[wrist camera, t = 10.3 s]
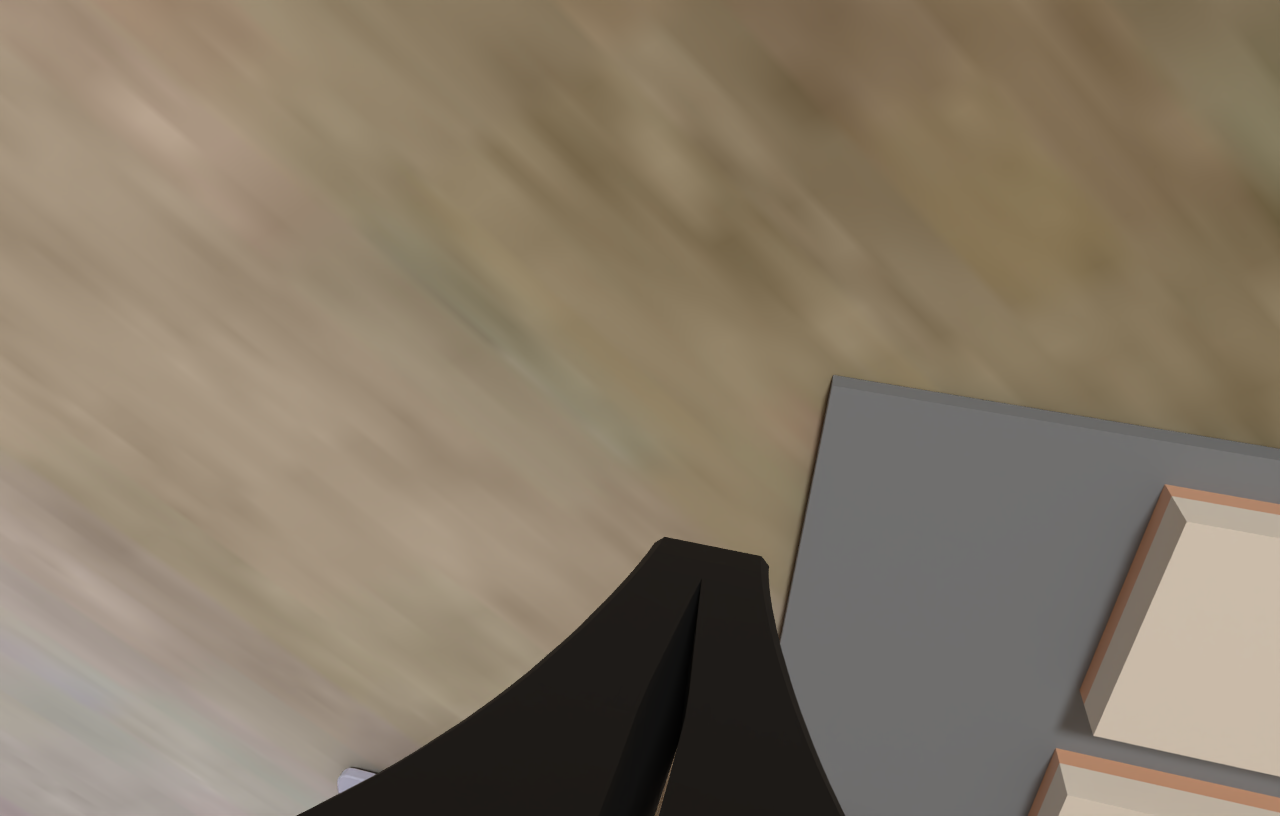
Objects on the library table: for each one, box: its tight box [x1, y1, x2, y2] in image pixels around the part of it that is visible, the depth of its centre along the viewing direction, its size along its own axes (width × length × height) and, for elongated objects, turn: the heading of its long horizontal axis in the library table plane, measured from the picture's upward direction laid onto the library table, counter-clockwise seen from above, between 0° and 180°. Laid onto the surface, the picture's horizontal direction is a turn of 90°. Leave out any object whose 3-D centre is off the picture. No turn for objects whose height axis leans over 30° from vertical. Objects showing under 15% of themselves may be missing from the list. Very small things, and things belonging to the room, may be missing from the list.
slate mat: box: [780, 375, 1280, 816], centre depth 23 cm, size 16×15×1 cm
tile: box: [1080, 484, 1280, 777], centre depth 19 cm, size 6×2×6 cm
